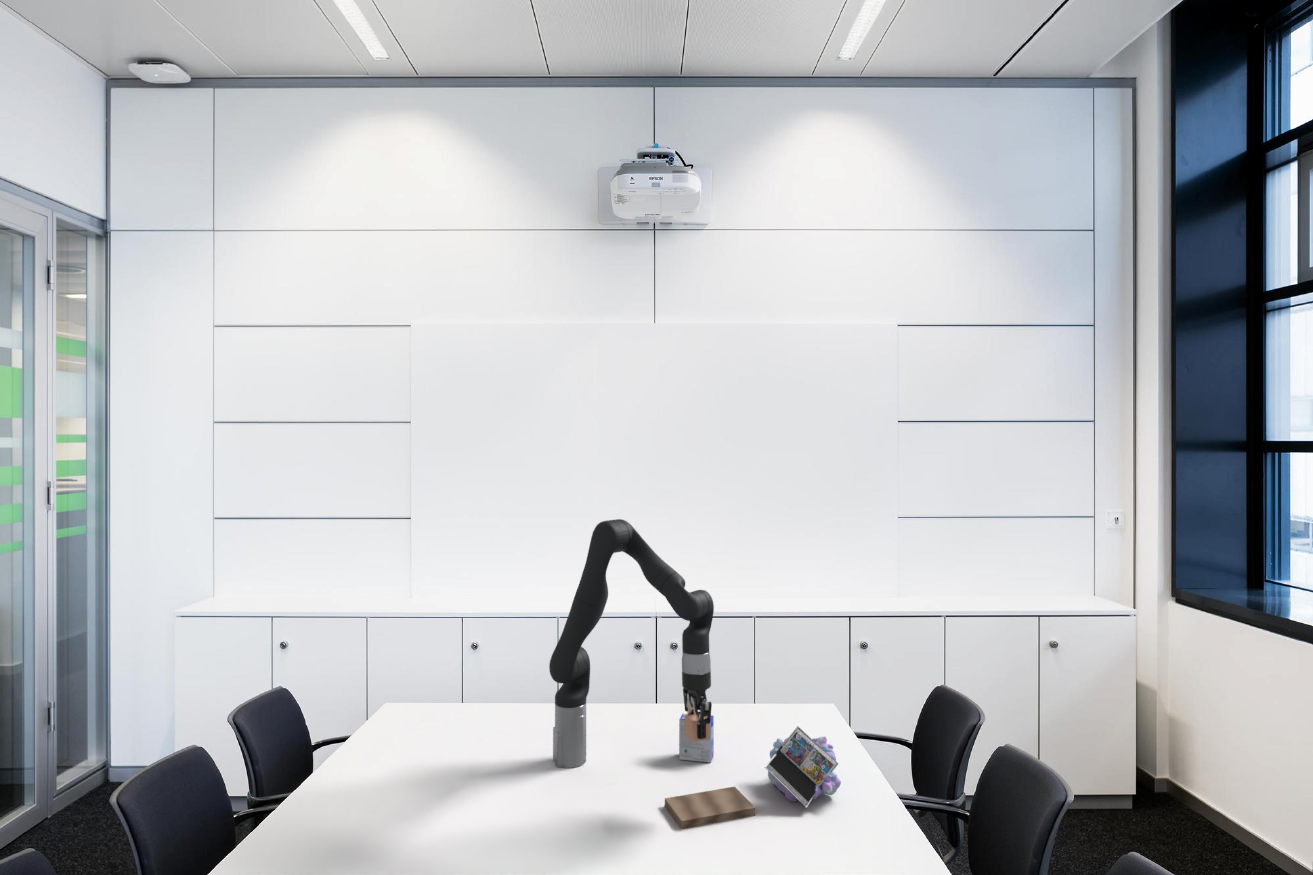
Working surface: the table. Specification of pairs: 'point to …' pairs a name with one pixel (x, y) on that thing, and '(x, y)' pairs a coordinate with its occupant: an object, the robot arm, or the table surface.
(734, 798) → the walnut board
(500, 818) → the table surface
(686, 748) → the ink cartridge box
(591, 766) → the table surface
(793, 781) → the lumpy iridescent figurine
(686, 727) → the terracotta cube
